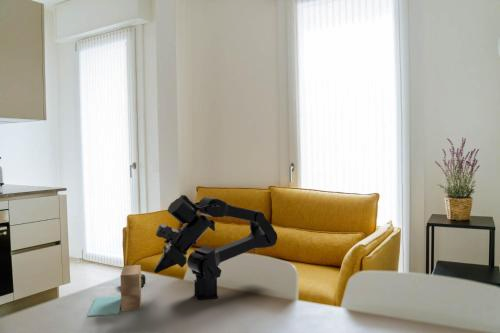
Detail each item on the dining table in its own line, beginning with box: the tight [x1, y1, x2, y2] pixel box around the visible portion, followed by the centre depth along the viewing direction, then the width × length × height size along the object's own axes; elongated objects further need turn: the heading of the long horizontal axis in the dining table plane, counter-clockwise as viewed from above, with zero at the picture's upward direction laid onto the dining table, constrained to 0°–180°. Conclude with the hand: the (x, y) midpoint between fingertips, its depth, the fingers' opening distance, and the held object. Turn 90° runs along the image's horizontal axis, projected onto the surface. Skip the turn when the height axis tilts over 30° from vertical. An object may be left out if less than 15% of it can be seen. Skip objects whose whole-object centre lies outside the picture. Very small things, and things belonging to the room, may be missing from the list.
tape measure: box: [141, 273, 147, 287], centre depth 134 cm, size 7×7×4 cm
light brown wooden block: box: [120, 264, 142, 312], centre depth 118 cm, size 5×10×10 cm, turn 13°
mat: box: [87, 295, 121, 318], centre depth 117 cm, size 8×14×1 cm, turn 13°
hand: (154, 271), depth 119 cm, fingers closed
